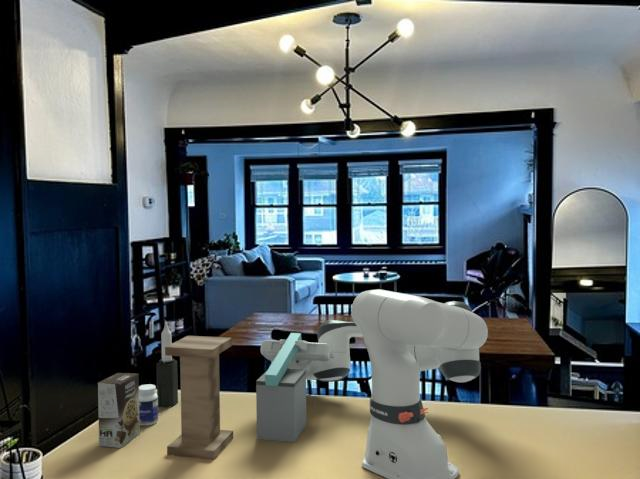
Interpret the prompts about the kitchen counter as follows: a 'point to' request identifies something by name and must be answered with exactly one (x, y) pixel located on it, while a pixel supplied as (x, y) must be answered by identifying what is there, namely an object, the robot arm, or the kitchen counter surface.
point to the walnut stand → (199, 397)
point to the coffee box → (118, 409)
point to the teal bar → (282, 360)
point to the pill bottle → (148, 405)
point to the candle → (167, 374)
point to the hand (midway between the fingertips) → (289, 342)
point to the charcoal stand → (281, 407)
